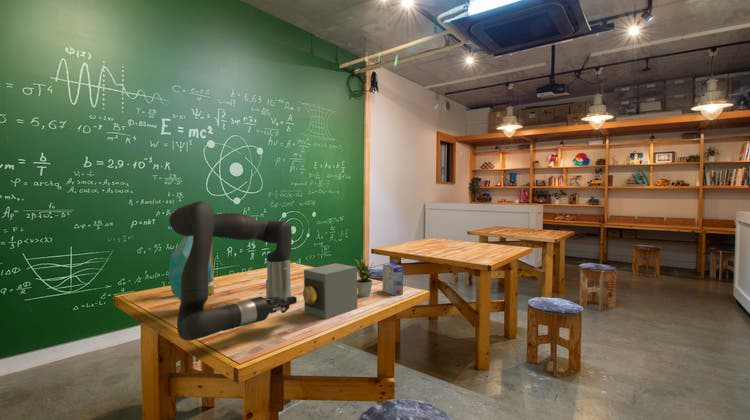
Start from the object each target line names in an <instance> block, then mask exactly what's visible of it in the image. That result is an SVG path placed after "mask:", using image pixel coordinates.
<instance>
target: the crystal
mask: <svg viewBox="0 0 750 420" xmlns="http://www.w3.org/2000/svg"><path fill="white" fill-rule="evenodd" d="M192 244H193V236H184V237H183V239H182V240H181V241H180V242H179V244H178V246H177V247H176V249H174V251H172V253H171V255H170V259H169V267H168V272H167V274H168V275H167V277H168V280H169V285H170V288H171V293H172V294H173V296H175V297H176V298H177V299H178V300H179V301H180V302H181V276H182V271H183V268H184V265H185V263H186V261H187V258H188V256H189V254H190V251H191V248H192ZM210 277H211V266H210V262H209V265H208V284H209V282H210Z"/></svg>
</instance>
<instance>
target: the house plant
mask: <svg viewBox="0 0 750 420" xmlns="http://www.w3.org/2000/svg"><path fill="white" fill-rule="evenodd" d="M354 260H355V262H357V265H356V264H354V263H353V266H354V267H357V276H358V279H357V296H359V297H365V298H366V297H370V296H371V294H372V293H371V292H372V286H373V280H372V279H371V278H372V277H373V276H377V275H378V274H377V273H376V272H373V271H372V267H373V264H374V262H371V265H370V267H369V264H368V265H366V261H367V259H365V260H363V259H362V258H361V259H360V262H359V260H357V259H356V258H354ZM348 263H351V262H349V261H348ZM375 265H377V263H375V264H374V266H375ZM349 266H352V263H351V264H349ZM371 271H372V272H371ZM375 273H376V274H375ZM372 274H373V275H372Z"/></svg>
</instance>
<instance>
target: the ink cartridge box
mask: <svg viewBox="0 0 750 420" xmlns="http://www.w3.org/2000/svg"><path fill="white" fill-rule="evenodd" d="M382 291H383V292H385V293H387V294H389V295H391V296H398V295H399V296H400V295H403V294H404V267H403V266H402V265H398V259H393V260H392V261H391V263H383V264H382Z"/></svg>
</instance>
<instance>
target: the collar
mask: <svg viewBox="0 0 750 420" xmlns="http://www.w3.org/2000/svg"><path fill="white" fill-rule="evenodd" d="M303 285H304V286H303V289H304V288H305V287H307V286H311V285H313V286H315V287H316V288H317V290H318V293H319V299H318V301H317V302H316V303H314V304H307V303H306V302H305V301H304V306H305V305H306V306H309V307H312V308H315V309H319V310H322V311H323V310H324V285H323V282H320V281H316V280H311V279H307V278H304V277H303Z"/></svg>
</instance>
